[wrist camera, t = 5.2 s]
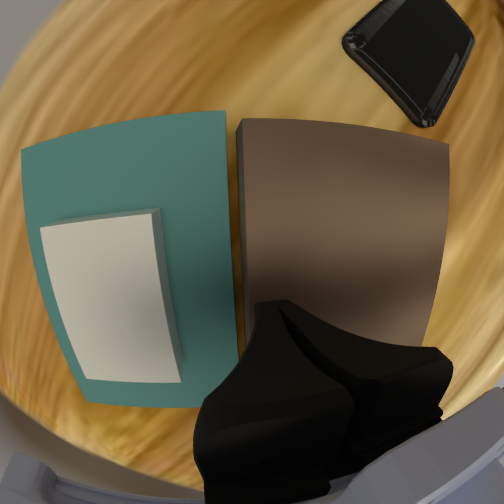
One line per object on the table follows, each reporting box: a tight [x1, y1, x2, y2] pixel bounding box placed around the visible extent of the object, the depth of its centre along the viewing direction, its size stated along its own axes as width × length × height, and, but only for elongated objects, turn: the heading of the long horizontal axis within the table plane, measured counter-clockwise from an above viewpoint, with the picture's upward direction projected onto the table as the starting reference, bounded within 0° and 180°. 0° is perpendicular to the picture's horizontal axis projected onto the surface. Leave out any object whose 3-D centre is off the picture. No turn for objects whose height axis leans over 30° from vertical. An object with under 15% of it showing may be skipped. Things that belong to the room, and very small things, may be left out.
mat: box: [21, 111, 239, 408], centre depth 13 cm, size 18×12×1 cm, turn 2°
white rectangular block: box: [40, 208, 183, 383], centre depth 12 cm, size 9×6×2 cm, turn 2°
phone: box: [342, 0, 475, 128], centre depth 11 cm, size 8×1×15 cm
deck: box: [236, 118, 450, 347], centre depth 14 cm, size 16×11×3 cm
